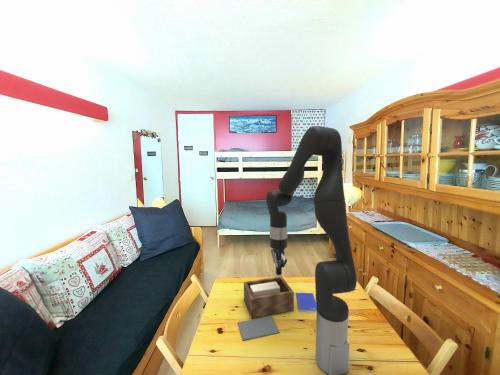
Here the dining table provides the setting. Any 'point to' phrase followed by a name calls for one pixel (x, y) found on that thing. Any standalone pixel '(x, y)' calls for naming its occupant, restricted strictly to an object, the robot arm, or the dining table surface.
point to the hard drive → (306, 302)
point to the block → (264, 289)
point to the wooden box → (269, 299)
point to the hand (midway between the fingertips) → (278, 274)
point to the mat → (257, 328)
